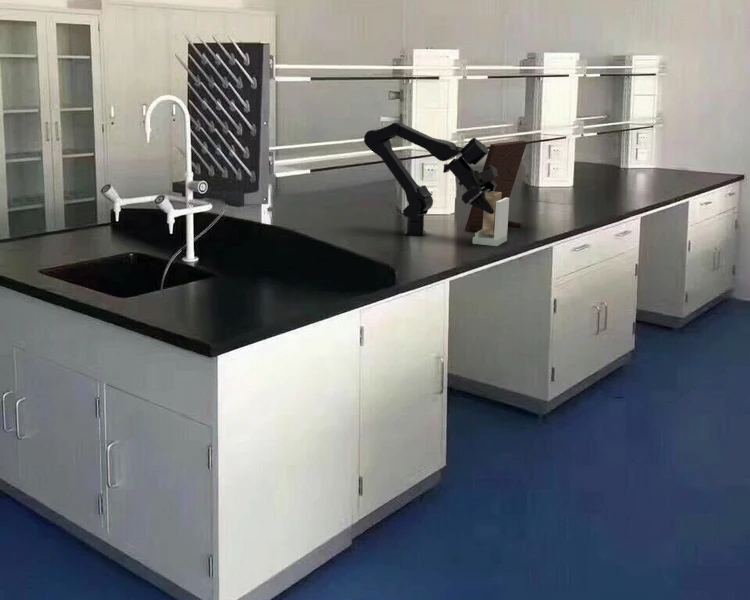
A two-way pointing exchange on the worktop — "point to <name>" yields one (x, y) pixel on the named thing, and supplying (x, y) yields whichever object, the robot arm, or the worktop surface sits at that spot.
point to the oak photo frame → (487, 217)
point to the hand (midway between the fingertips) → (496, 211)
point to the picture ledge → (496, 226)
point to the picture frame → (500, 176)
